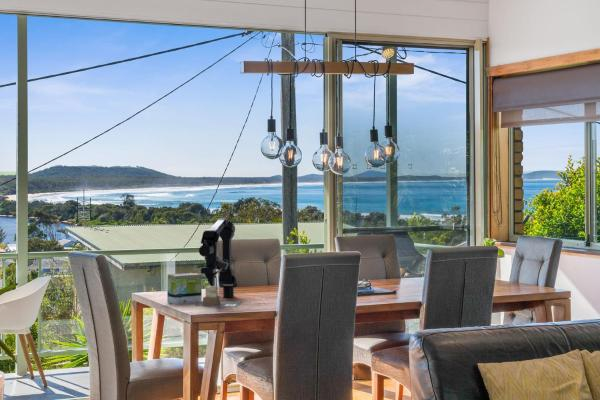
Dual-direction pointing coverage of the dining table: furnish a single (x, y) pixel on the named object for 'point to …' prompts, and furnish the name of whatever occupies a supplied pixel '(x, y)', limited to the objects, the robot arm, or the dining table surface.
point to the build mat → (222, 304)
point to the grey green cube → (211, 291)
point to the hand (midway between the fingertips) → (211, 285)
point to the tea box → (184, 288)
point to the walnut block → (211, 301)
